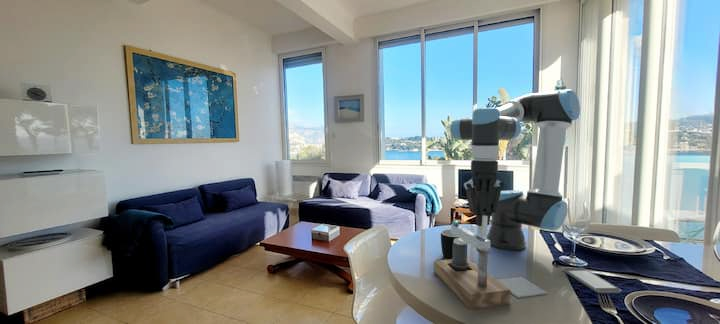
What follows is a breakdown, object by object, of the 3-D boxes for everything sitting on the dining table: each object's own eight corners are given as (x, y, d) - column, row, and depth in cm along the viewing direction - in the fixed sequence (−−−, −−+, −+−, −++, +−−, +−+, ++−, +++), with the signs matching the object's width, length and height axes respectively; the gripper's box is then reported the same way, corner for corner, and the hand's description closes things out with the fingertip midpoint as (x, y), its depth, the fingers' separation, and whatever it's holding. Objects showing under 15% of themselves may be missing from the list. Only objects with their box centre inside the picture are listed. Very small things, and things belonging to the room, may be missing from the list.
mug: (469, 263, 105) (469, 236, 104) (445, 264, 105) (445, 237, 104) (456, 251, 117) (457, 226, 116) (435, 251, 117) (435, 227, 116)
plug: (462, 273, 97) (463, 237, 96) (471, 281, 92) (472, 242, 91) (447, 275, 96) (448, 238, 95) (456, 283, 91) (457, 244, 90)
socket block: (465, 268, 101) (466, 230, 100) (510, 303, 80) (511, 255, 79) (434, 272, 99) (434, 233, 98) (470, 308, 77) (472, 259, 76)
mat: (521, 278, 94) (521, 276, 94) (547, 294, 84) (547, 292, 84) (494, 281, 92) (494, 280, 92) (517, 298, 82) (517, 296, 82)
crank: (493, 252, 80) (493, 237, 80) (481, 253, 79) (481, 238, 79) (458, 232, 97) (459, 220, 97) (448, 233, 97) (449, 220, 96)
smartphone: (583, 267, 100) (622, 290, 85) (583, 270, 100) (622, 294, 85) (562, 268, 100) (597, 291, 85) (562, 271, 100) (597, 294, 85)
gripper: (495, 158, 93) (492, 230, 94) (458, 159, 90) (456, 233, 92) (512, 160, 85) (509, 238, 87) (472, 161, 83) (470, 241, 84)
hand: (482, 235), depth 89 cm, fingers closed
